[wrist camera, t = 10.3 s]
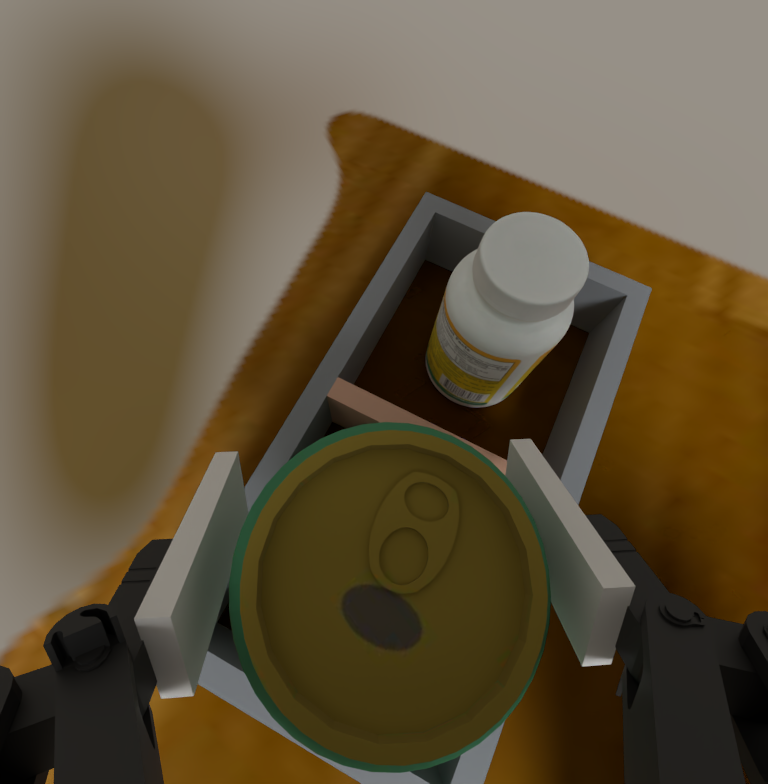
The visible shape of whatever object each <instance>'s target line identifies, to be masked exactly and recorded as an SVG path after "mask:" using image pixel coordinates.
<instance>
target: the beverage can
mask: <svg viewBox="0 0 768 784" xmlns="http://www.w3.org/2000/svg"><path fill="white" fill-rule="evenodd" d="M550 606H551V589H550V577H549V567H548V563H547V559H546V554H545V550H544V545H543V542H542V539H541V537H540V534H539V531H538V529H537V526H536V523H535V521H534V518H533V517H532V515H531V513H530V511H529V509H528V507H527V506H526V504H525V502H524V500H523V498H522V497H521V495H520V494H519V493H518V491H517V490H516V489H515V487H514V486H513V485H512V483H511V482H510V481H509V479H508V478H507V477H506V476H505V475H504V474H503V473H502V472H501V471H500V470H499V469H498V468H497V467H496V466H495V465H494V464H493V463H492V462H491V461H490V460H489V459H488V458H486V457H485V456H484V455H482V454H481V453H480V452H478V451H477V450H476V449H474V448H473V447H472V446H470V445H468V444H466V443H464V442H462V441H461V440H459V439H457V438H455V437H453V436H451V435H449V434H446V433H443V432H441V431H438V430H435V429H432V428H429V427H425V426H420V425H415V424H410V423H396V422H381V423H371V424H362V425H358V426H355V427H351V428H347V429H343V430H340V431H338V432H335V433H333V434H331V435H328V436H326V437H324V438H321V439H319V440H318V441H316V442H314V443H313V444H311V445H310V446H308V447H306V448H305V449H303V450H301V451H300V452H299V453H298V454H296V455H295V456H294V457H293V458H292V459H290V460H289V461H288V462H287V463H286V464H284V465H283V466H282V467H281V468H280V469H279V471H278V472H277V473H276V474H275V475H274V476H273V477H272V478H271V480H270V481H269V482H268V483H267V484H266V485H265V487H264V488H263V490H262V491H261V493H260V494H259V496H258V498H257V499H256V501H255V502H254V504H253V505H252V507H251V509H250V511H249V513H248V515H247V518H246V520H245V522H244V524H243V526H242V528H241V531H240V534H239V537H238V541H237V544H236V547H235V551H234V554H233V559H232V566H231V573H230V580H229V615H230V621H231V628H232V634H233V640H234V644H235V647H236V650H237V653H238V656H239V660H240V663H241V666H242V668H243V671H244V673H245V675H246V677H247V679H248V681H249V683H250V685H251V687H252V689H253V691H254V693H255V694H256V696H257V697H258V699H259V700H260V701H261V703H262V704H263V705H264V707H265V708H266V710H267V711H268V712H269V714H270V715H271V717H272V718H273V719H274V720H275V721H276V722H277V723H278V724H279V725H280V726H281V727H282V728H283V729H285V730H286V731H287V732H288V733H289V734H290V735H291V736H292V737H293V738H294V739H295V740H297V741H298V742H300V743H301V744H303V745H304V746H306V747H307V748H309V749H310V750H312V751H313V752H315V753H316V754H318V755H320V756H322V757H325V758H327V759H329V760H332V761H334V762H336V763H338V764H341V765H343V766H347V767H351V768H356V769H360V770H365V771H369V772H386V773H403V772H409V771H415V770H421V769H427V768H430V767H433V766H436V765H439V764H441V763H444V762H447V761H449V760H452V759H455V758H457V757H458V756H460V755H462V754H463V753H465V752H467V751H468V750H470V749H472V748H473V747H475V746H477V745H478V744H480V743H481V742H482V741H483V740H485V739H486V738H487V737H488V736H489V735H490V734H491V733H493V732H494V731H495V730H496V729H497V728H498V727H499V726H501V725H502V723H503V722H504V721H505V720H506V718H507V717H508V716H509V715H510V714H511V712H512V711H513V710H514V709H515V707H516V706H517V705H518V704H519V702H520V701H521V699H522V697H523V695H524V694H525V692H526V690H527V688H528V687H529V685H530V683H531V681H532V680H533V678H534V675H535V673H536V670H537V667H538V665H539V662H540V659H541V657H542V654H543V651H544V647H545V642H546V637H547V633H548V628H549V622H550Z"/></svg>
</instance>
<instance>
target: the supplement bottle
mask: <svg viewBox="0 0 768 784" xmlns="http://www.w3.org/2000/svg"><path fill="white" fill-rule="evenodd" d="M588 272H589V259H588V254H587V251H586V249H585V246H584V245H583V243H582V241H581V240H580V238H579V237H578V236H577V235H576V233H575V232H574V231H573V230H572V229H570V228H569V227H568V226H567V225H565V224H564V223H563V222H561V221H559V220H557V219H555V218H553V217H550V216H548V215H544V214H540V213H534V212H519V213H514V214H510V215H507V216H505V217H502V218H501V219H499V220H497V221H496V222H494V223H493V224H492V225H491V226H490V227H489V228H488V230H487V231H486V232H485V234H484V236H483V238H482V240H481V242H480V244H479V247H478V249H476V250H474V251H473V252H471V253H470V254H468V255H467V256H466V257H465V258H463V259H462V260H461V261H460V263H459V264H458V265H457V266H456V267H455V269H454V271H453V272H452V274H451V276H450V279H449V281H448V284H447V287H446V290H445V293H444V296H443V299H442V303H441V306H440V309H439V312H438V315H437V318H436V321H435V325H434V328H433V331H432V334H431V337H430V340H429V343H428V346H427V351H426V357H425V361H426V368H427V372H428V375H429V377H430V379H431V381H432V383H433V385H434V386H435V387H436V388H437V390H438V391H439V392H440V393H441V394H443V395H444V396H445V397H446V398H448V399H449V400H451V401H453V402H455V403H457V404H460V405H463V406H466V407H475V408H478V407H487V406H491V405H494V404H497V403H499V402H501V401H502V400H504V399H505V398H507V397H508V396H509V395H510V394H511V393H512V392H513V391H514V390H515V389H516V388H517V387H518V386H519V385H520V384H521V382H522V381H523V380H524V379H525V378H526V377H527V376H528V375H529V374H530V373H531V371H532V370H533V369H534V368H535V367H536V366H537V365H538V364H539V363H540V362H541V361H542V360H543V359H544V358H545V357H546V355H547V354H548V353H549V352H550V351H551V350H552V349H553V348H554V347H555V346H556V345H557V344H558V343H559V341H560V340H561V339H562V338H563V336H564V335H565V334H566V332H567V330H568V328H569V326H570V324H571V321H572V318H573V313H574V298H575V296H576V295H577V294H578V293H579V291H580V290H581V289H582V287H583V286H584V284H585V282H586V279H587V276H588Z"/></svg>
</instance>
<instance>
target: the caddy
mask: <svg viewBox="0 0 768 784" xmlns="http://www.w3.org/2000/svg"><path fill="white" fill-rule="evenodd" d="M494 222H496V221H494V220H491V219H489V218H487V217H484V216H482V215H480V214H477V213H475V212H473V211H470V210H468V209H466V208H463V207H461V206H459V205H456V204H454V203H452V202H449V201H447V200H445V199H442V198H440V197H437V196H435V195H433V194H430V193H428V192H426V193H425V194H424V196H423V197H422V199H421V201H420V202H419V204H418V206H417V207H416V209H415V210H414V212H413V214H412V215H411V217H410V219H409V220H408V222H407V223H406V225H405V227H404V228H403V230H402V232H401V233H400V235H399V237H398V238H397V240H396V241H395V243H394V245H393V246H392V248H391V250H390V251H389V253H388V254H387V256H386V258H385V259H384V261H383V263H382V264H381V266H380V267H379V269H378V271H377V272H376V274H375V276H374V277H373V279H372V281H371V282H370V284H369V285H368V287H367V289H366V290H365V292H364V294H363V295H362V297H361V298H360V300H359V302H358V303H357V305H356V307H355V308H354V310H353V311H352V313H351V315H350V316H349V318H348V320H347V321H346V323H345V325H344V326H343V328H342V329H341V331H340V333H339V334H338V336H337V338H336V339H335V341H334V342H333V344H332V346H331V347H330V349H329V351H328V352H327V354H326V355H325V357H324V359H323V360H322V362H321V364H320V365H319V367H318V369H317V370H316V372H315V373H314V375H313V377H312V378H311V380H310V382H309V383H308V385H307V386H306V388H305V390H304V391H303V393H302V395H301V396H300V398H299V399H298V401H297V403H296V404H295V406H294V408H293V409H292V411H291V413H290V414H289V416H288V417H287V419H286V421H285V422H284V424H283V426H282V427H281V429H280V430H279V432H278V434H277V435H276V437H275V439H274V440H273V442H272V443H271V445H270V447H269V448H268V450H267V452H266V453H265V455H264V457H263V458H262V460H261V461H260V463H259V465H258V466H257V468H256V470H255V471H254V473H253V474H252V476H251V478H250V479H249V481H248V483H247V484H246V486H245V487H244V490H245V496H246V502H247V508H248V513H249V511H250V509H251V507H252V505H253V504H254V502H255V501H256V499H257V498H258V496H259V494H260V493H261V491H262V490H263V488H264V487H265V485H266V484H267V483H268V482H269V481H270V480H271V478H272V477H273V476H274V475H275V474H276V473H277V472H278V471H279V469H280V468H281V467H282V466H283V465H284V464H286V463H287V462H288V461H289V460H290V459H292V458H293V457H294V456H295V455H296V454H298V453H299V452H300V451H301V450H303V449H305V448H306V447H308V446H310V445H311V444H313V443H314V442H316V441H318V440H319V439H321V438H323V437H324V435H325V434H326V432H327V430H328V428H329V427H330V425H331V423H332V422H334V423H336V424H338V425H340V426H342V427H344V428H346V429H347V428H351V427H355V426H358V425H362V424H371V423H381V422H396V423H410V424H415V425H420V426H425V427H429V428H432V429H435V430H438V431H441V432H443V433H446V434H449V435H451V436H453V437H455V438H457V439H459V440H461V441H462V442H464V443H466V444H468V445H470V446H472V447H473V448H474V449H476V450H477V451H478V452H480V453H481V454H482V455H484V456H485V457H486V458H488V459H489V460H490V461H491V462H492V463H493V464H494V465H495V466H496V467H497V468H498V469H499V470H500V471H501V472H502V473H503V474H504V475H506V467H507V460H505V459H503V458H501V457H499V456H497V455H495V454H493V453H491V452H489V451H487V450H485V449H483V448H481V447H479V446H477V445H475V444H473V443H471V442H469V441H467V440H465V439H462V438H460V437H458V436H456V435H454V434H452V433H450V432H448V431H446V430H444V429H442V428H440V427H438V426H436V425H434V424H432V423H430V422H428V421H426V420H424V419H422V418H420V417H418V416H416V415H414V414H412V413H410V412H408V411H406V410H404V409H402V408H400V407H398V406H396V405H394V404H392V403H390V402H388V401H385V400H383V399H381V398H379V397H377V396H375V395H373V394H371V393H369V392H367V391H365V390H363V389H361V388H359V387H357V386H355V385H354V383H355V381H356V379H357V378H358V376H359V374H360V372H361V371H362V369H363V367H364V366H365V364H366V362H367V360H368V359H369V357H370V355H371V353H372V352H373V350H374V348H375V346H376V345H377V343H378V341H379V339H380V338H381V336H382V334H383V332H384V331H385V329H386V327H387V325H388V324H389V322H390V320H391V318H392V317H393V315H394V313H395V311H396V310H397V308H398V306H399V304H400V303H401V301H402V299H403V297H404V296H405V294H406V292H407V291H408V289H409V287H410V285H411V284H412V282H413V280H414V278H415V277H416V275H417V273H418V271H419V270H420V268H421V266H422V264H423V263H424V261H425V260H427V261H429V262H432V263H434V264H436V265H438V266H441V267H443V268H445V269H447V270H450V271H452V272H453V271H454V269H455V267H456V266H457V265H458V264H459V263H460V261H461V260H462V259H463V258H465V257H466V256H467V255H468V254H470V253H471V252H473V251H474V250H476V249H478V247H479V244H480V242H481V240H482V238H483V236H484V234H485V232H486V231H487V230H488V228H489V227H490V226H491V225H492V224H493V223H494ZM651 290H652V288H650V287H648V286H646V285H643V284H641V283H639V282H636V281H634V280H632V279H629V278H627V277H625V276H622V275H620V274H618V273H615V272H613V271H611V270H608V269H606V268H604V267H601V266H599V265H597V264H594V263H592V262H590V261H589V272H588V276H587V279H586V282H585V284H584V286H583V287H582V289H581V290H580V291H579V293H578V294H577V295H576V296H575V298H574V313H573V318H572V321H571V324H570V325H573V326H575V327H577V328H579V329H582V330H584V331H586V332H588V333H589V335H588V337H587V340H586V343H585V345H584V348H583V350H582V353H581V356H580V358H579V361H578V364H577V366H576V369H575V371H574V374H573V377H572V379H571V382H570V384H569V387H568V390H567V392H566V395H565V397H564V400H563V403H562V405H561V408H560V410H559V413H558V416H557V418H556V421H555V423H554V426H553V429H552V431H551V434H550V436H549V439H548V442H547V444H546V447H545V449H544V452H543V457H544V458H545V460H546V461H547V462H548V464H549V465H550V467H551V468H552V469H553V471H554V472H555V474H556V475H557V476H558V478H559V479H560V481H561V482H562V483H563V485H564V486H565V488H566V489H567V491H568V492H569V493H570V495H571V496H572V498H573V499H574V500H575V502H576V503H577V505H578V504H579V501H580V498H581V495H582V492H583V490H584V487H585V484H586V481H587V478H588V475H589V472H590V469H591V466H592V463H593V460H594V457H595V454H596V451H597V448H598V445H599V442H600V440H601V437H602V434H603V431H604V428H605V425H606V422H607V419H608V416H609V413H610V410H611V407H612V404H613V401H614V398H615V395H616V392H617V390H618V387H619V384H620V381H621V378H622V375H623V372H624V369H625V366H626V363H627V360H628V357H629V354H630V351H631V348H632V345H633V343H634V340H635V337H636V334H637V331H638V328H639V325H640V322H641V319H642V316H643V313H644V310H645V307H646V304H647V301H648V298H649V295H650V293H651ZM229 580H230V577H229ZM228 603H229V581H228V584H227V587H226V591H225V594H224V597H223V601H222V604H221V607H220V611H219V614H218V617H217V621H216V624H215V627H214V631H213V634H212V637H211V641H210V644H209V647H208V651H207V654H206V657H205V661H204V664H203V667H202V671H201V674H200V677H199V681H198V684H199V685H201V686H202V687H204V688H206V689H207V690H209V691H210V692H212V693H214V694H215V695H217V696H219V697H220V698H222V699H224V700H225V701H227V702H229V703H230V704H232V705H233V706H235V707H237V708H238V709H240V710H242V711H243V712H245V713H247V714H248V715H250V716H251V717H253V718H255V719H256V720H258V721H260V722H261V723H263V724H265V725H266V726H268V727H270V728H271V729H273V730H274V731H276V732H278V733H279V734H281V735H283V736H284V737H286V738H288V739H289V740H291V741H293V742H294V743H296V744H297V745H299V746H301V747H302V748H304V749H306V750H307V751H309V752H311V753H312V754H314V755H316V756H317V757H319V758H320V759H322V760H324V761H325V762H327V763H329V764H330V765H332V766H334V767H335V768H337V769H339V770H340V771H342V772H343V773H345V774H347V775H348V776H350V777H352V778H353V779H355V780H357V781H358V782H360V783H361V784H484V781H485V778H486V775H487V772H488V769H489V766H490V763H491V760H492V757H493V754H494V751H495V748H496V745H497V742H498V739H499V736H500V734H501V731H502V728H503V725H504V722H505V721H504V722H503V723H502V725H501V726H499V727H498V728H497V729H496V730H495V731H494V732H493V733H491V734H490V735H489V736H488V737H487V738H486V739H485V740H483V741H482V742H481V743H480V744H478V745H477V746H475V747H473V748H472V749H470V750H468V751H467V752H465V753H463V754H462V755H460V756H458V757H457V758H455V759H452V760H449V761H447V762H444V763H441V764H439V765H436V766H433V767H430V768H427V769H421V770H415V771H409V772H403V773H386V772H369V771H365V770H360V769H356V768H351V767H347V766H343V765H341V764H338V763H336V762H334V761H332V760H329V759H327V758H325V757H322V756H320V755H318V754H316V753H315V752H313V751H312V750H310V749H309V748H307V747H306V746H304V745H303V744H301V743H300V742H298V741H297V740H295V739H294V738H293V737H292V736H291V735H290V734H289V733H288V732H287V731H286V730H285V729H283V728H282V727H281V726H280V725H279V724H278V723H277V722H276V721H275V720H274V719H273V718H272V717H271V715H270V714H269V712H268V711H267V710H266V708H265V707H264V705H263V704H262V703H261V701H260V700H259V699H258V697H257V696H256V694H255V693H254V691H253V689H252V687H251V685H250V683H249V681H248V679H247V677H246V675H245V673H244V671H243V668H242V666H241V663H240V660H239V656H238V653H237V650H236V647H235V644H234V640H233V634H232V631H231V630H230V629H228V628H226V627H224V626H223V625H221V624H219V623H218V620H219V618H220V617H221V615H222V613H223V611H224V610H225V608H226V606H227V604H228Z"/></svg>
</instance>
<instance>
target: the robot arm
mask: <svg viewBox="0 0 768 784" xmlns="http://www.w3.org/2000/svg"><path fill="white" fill-rule="evenodd" d="M505 476H506V477H507V478H508V479H509V481H510V482H511V483H512V485H513V486H514V487H515V489H516V490H517V491H518V493H519V494H520V495H521V497H522V498H523V500H524V502H525V504H526V506H527V507H528V509H529V511H530V513H531V515H532V517H533V518H534V521H535V523H536V526H537V529H538V531H539V534H540V537H541V539H542V542H543V545H544V550H545V554H546V559H547V563H548V567H549V577H550V589H551V603H552V605H553V607H554V609H555V611H556V613H557V616H558V618H559V620H560V622H561V624H562V626H563V628H564V630H565V632H566V634H567V636H568V638H569V640H570V642H571V645H572V647H573V649H574V651H575V653H576V655H577V657H578V659H579V661H580V663H581V665H582V667H584V666H597V665H610V664H611V663H612V660H613V657H614V654H615V651H616V649H617V651H618V653H619V654H620V656H621V658H622V660H623V661H624V663H625V666H624V669H623V672H622V675H621V678H620V681H619V684H618V687H617V691H616V695H617V696H620V697H621V694H622V695H623V741H624V784H745V779H744V775H743V770H742V766H743V768H744V770H745V772H746V774H747V777H748V779H749V781H750V783H751V784H768V612H766V611H757V612H753V613H751V614H749V615H748V616H747V619H746V621H745V623H744V624H740V623H735V622H730V621H725V620H720V619H715V618H711V617H708V616H706V615H705V614H704V613H703V612H702V611H701V610H700V609H699V608H698V607H697V606H696V605H694V604H693V603H691V602H690V601H688V600H687V599H685V598H683V597H680V596H678V595H675V594H671V593H669V592H668V590H667V589H666V588H665V587H664V585H663V584H662V583H661V581H660V580H659V579H658V578H657V576H656V575H655V574H654V572H653V571H652V570H651V569H650V567H649V566H648V565H647V564H646V562H645V561H644V560H643V558H642V557H641V556H640V555H639V553H638V552H637V553H636V549H635V548H634V547H633V546H632V544H631V543H630V542H629V541H627V538H626V537H625V535H624V534H623V533H622V532H621V530H620V529H619V528H618V526H617V525H615V524H614V523H613V522H611V521H610V520H608V519H607V518H606V517H604V516H603V515H601V514H597V515H585V514H584V513H583V512H582V510H581V509H580V507H579V506H578V505H577V503H576V502H575V500H574V499H573V498H572V496H571V495H570V493H569V492H568V491H567V489H566V488H565V486H564V485H563V483H562V482H561V481H560V479H559V478H558V476H557V475H556V474H555V472H554V471H553V469H552V468H551V467H550V465H549V464H548V462H547V461H546V460H545V458H544V457H543V455H542V454H541V453H540V451H539V450H538V448H537V447H536V446H535V444H534V443H533V441H532V440H531V439H513V440H510V444H509V451H508V459H507V467H506V475H505ZM247 515H248V508H247V502H246V496H245V490H244V484H243V478H242V472H241V466H240V460H239V454H238V451H236V452H216V453H215V455H214V457H213V459H212V461H211V463H210V465H209V467H208V469H207V471H206V473H205V475H204V477H203V479H202V481H201V483H200V485H199V487H198V489H197V492H196V494H195V496H194V498H193V500H192V502H191V504H190V506H189V508H188V510H187V512H186V514H185V516H184V518H183V520H182V522H181V524H180V526H179V528H178V530H177V532H176V534H175V536H174V538H173V539H159V540H152V541H151V542H150V543H148V544H147V545H146V546H145V547H144V548H143V549H142V550H141V551H140V552H139V553H138V554H137V555H136V557H135V559H134V561H133V562H132V564H131V566H130V568H129V571H128V572H127V573H126V575H125V576H124V578H123V580H122V584H121V585H119V587H118V589H117V590H116V592H115V594H114V596H113V597H112V599H111V601H110V603H109V605H106V604H91V605H88V606H84V607H81V608H79V609H77V610H75V611H73V612H71V613H69V614H67V615H66V616H65V617H63V618H62V619H61V620H60V621H58V622H57V623H56V624H55V625H54V626H53V628H52V629H51V630H50V631H49V633H48V634H47V636H46V639H45V642H44V645H43V646H44V648H45V650H46V652H47V655H48V657H49V659H50V661H51V663H52V664H51V665H49V666H46V667H43V668H40V669H37V670H35V671H32V672H29V673H26V674H23V675H20V676H17V677H14V676H13V674H12V673H11V671H10V669H9V668H6V667H3V666H0V784H45V782H46V779H47V775H48V772H49V770H50V769H52V768H54V784H164V781H163V775H162V769H161V763H160V757H159V751H158V744H157V738H156V732H155V726H154V720H153V714H152V710H151V708H150V705H149V702H150V699H151V697H152V694H153V691H154V689H155V686H156V685H157V687H158V690H159V693H160V696H161V698H175V697H188V696H194V694H195V690H196V687H197V684H198V681H199V677H200V674H201V671H202V667H203V664H204V661H205V657H206V654H207V651H208V647H209V644H210V641H211V637H212V634H213V631H214V627H215V624H216V621H217V617H218V614H219V611H220V607H221V604H222V601H223V597H224V594H225V591H226V587H227V584H228V581H229V577H230V573H231V566H232V559H233V554H234V551H235V547H236V544H237V541H238V537H239V534H240V531H241V528H242V526H243V524H244V522H245V520H246V518H247ZM741 763H742V766H741Z"/></svg>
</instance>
